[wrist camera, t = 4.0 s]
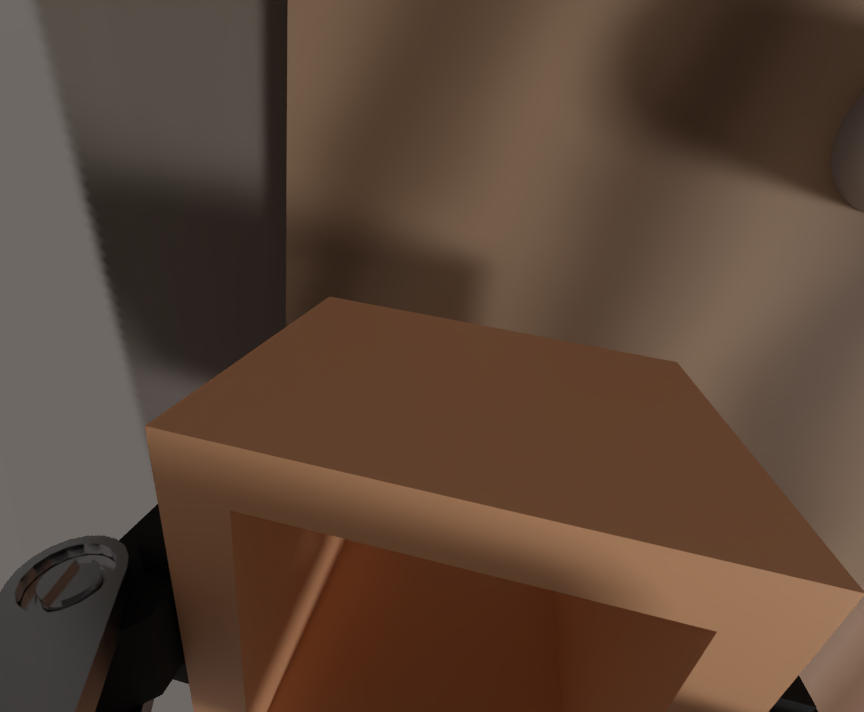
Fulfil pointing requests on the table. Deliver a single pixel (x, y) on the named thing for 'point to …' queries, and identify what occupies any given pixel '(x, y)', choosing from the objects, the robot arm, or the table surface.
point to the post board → (607, 196)
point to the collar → (477, 530)
